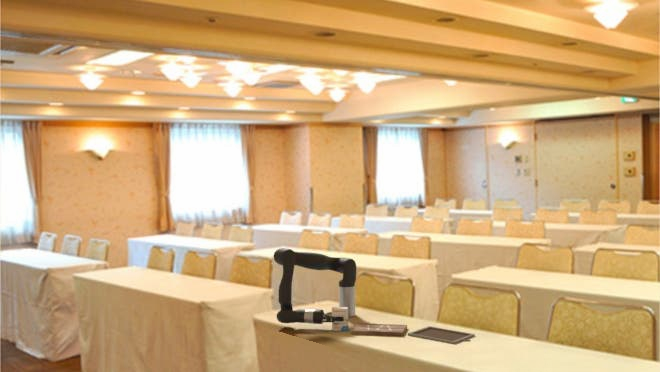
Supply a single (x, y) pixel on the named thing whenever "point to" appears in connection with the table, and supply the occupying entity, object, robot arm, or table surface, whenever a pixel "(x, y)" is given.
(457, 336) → the grey framed brown panel
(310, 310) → the robot arm
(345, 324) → the ink box
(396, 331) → the walnut board
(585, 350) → the table surface
